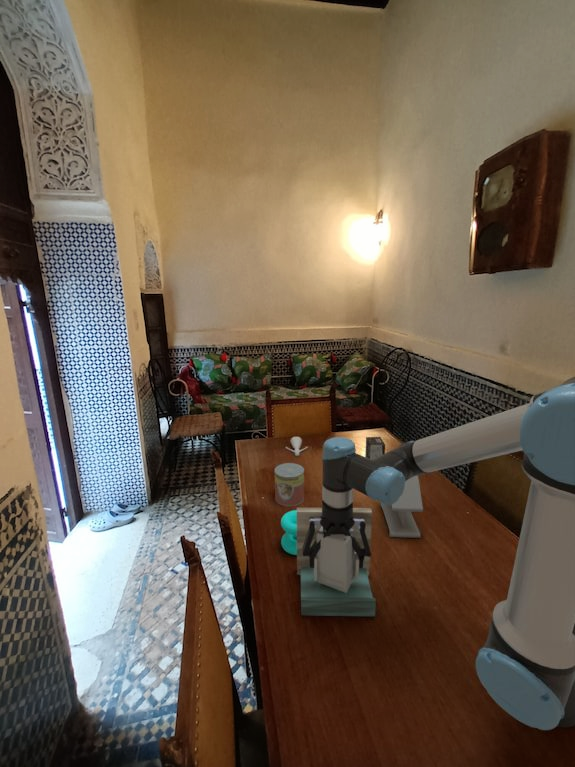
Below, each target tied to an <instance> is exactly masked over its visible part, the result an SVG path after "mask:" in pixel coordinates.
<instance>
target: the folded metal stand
mask: <svg viewBox="0 0 575 767" xmlns="http://www.w3.org/2000/svg"><path fill="white" fill-rule="evenodd" d="M419 479H420V478H419V475H418V476H414V477H412V478H410V479H408V480H407V481H405V487H404V491H403V493H402V495H401V496H400V497H399V499H398V501H397V502H396V503H394V504H391V505H387V504H384V503H382V502H380V501H379V506H380V508H382V512H383V514H384V517H385V521H386V523H387V527H388V530H389V531H388V536H389V537H390V538H409V539H410V538H411V539H413V538H414V539H415V538H416V539H420V538H421V531H420V529H419V527H418V525H417V523H416V521H415V518H414V516H413V514H412V512H414V513H418V512H419V513H422V512H423V511H424V507H423V499H422V493H421V487H420V481H419Z"/></svg>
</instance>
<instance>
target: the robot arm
mask: <svg viewBox="0 0 575 767" xmlns="http://www.w3.org/2000/svg"><path fill="white" fill-rule="evenodd" d="M356 451H357V450H356V444H355V442H354V441H353V440H351V439H350V438H347V437H341V436H336V437H331V438H328V439H327V440H325V441H324V443H323V448H322V456H321V460H322V461H321V462H322V463H321V464H322V486H321V488H322V489H321V490H322V492H321V494H322V495H321V498H322V501H321V508H322V516H321V517H320V519H314V517H310V518H309V523H310V526H309V529H308V532H307V535H306V538H305V541H304V544H303V556H309V557H310V568H314V581H317V553H318V551H319V550H320V548H321V540H320V541H319V542H318V543H317V539H316V540H315V542H314V543H313V545H312V546H311V548H310V545H311V542H312V539H313V536H314V533H315V529H317V527H318V525H319V524H321V526H322V527H323V534H324V536H323V538H325V537H327V536H330V535H331V534H344V535H345V536H351V534H350V533H349V530H350V529H351V528H352V527H353V525H354V524H355V525H356V527H357V528H358V529H359V530H360V534H361V538H362V541H363V545H364V549H361V547H360V545H359V544H358V542H357V540H356V539H355V537H352V536H351V538H352V547H353V548H354V550H355V554H354V577H355V581H358V577H359V568H363V561H364V557H365V556H367V557H370V558H371V556H372V552H371V547H370V548H369V545H368V541H367V537H366V534H365V526H366V524H365V521H364V518H363V517H360V518H359V519H354V518H353V508H354V490H355V491H357V492H359V493H361V494H362V495H365V496H367V497H368V498H370V499H371V500H374V501H377V502H379V503H380V502H382V503H384V504H387V505H391V504H394V503H396V502H397V501H398V499H399V497H400V496H401V495H402V493H403V491H404V487H405V481H407V480H408V479H410V478H412V477H414V476H418V477H419V476H421V475H425V474H428V473H432V472H438V471H440V470H446V469H449V468H453V467H457V466H463V465H466V464H469V463H475V462H478V461H483V460H487V459H492V458H495V457H500V456H504V455H508V454H512V453H517V452H520V451H523V458H522V463H521V468H522V470H523V472H524V474H526V476H527V477H528V478H529V479H530V480H531V482H530V485H529V486H530V487H529V491H528V497H527V502H526V506H525V509H524V510H525V511H524V516H523V520H522V524H521V531H520V534H519V538H518V539H519V540H518V544H517V549H516V553H515V554H516V555H515V558H514V563H513V564H514V565H513V569H512V573H511V578H510V581H509V582H510V583H509V588H508V593H507V598H506V599H505V600H501V601H499V602H498V603H496V605H495V606H494V608H493V611H492V616H491V620H490V625H489V630H488V635H487V638H486V641H485V643H484V645H483V646H482V647H480V649H479V650H478V652H477V656H476V658H475V670H476V673H477V677H478V679H479V681H480V683H481V685H482V686H483V687H484V688H485V690H486V691H487V694H488V695H489V696H490V697H491V699H493V700H494V701H495V703H496V704H497V705H498V706H499V707H500V708H501V709H502V710H504V711H505V712H506V713H507V714H509V715H510V716H511V717H512V718H514V719H515V720H517V721H519V722H520V723H522V724H524V725H526V726H528V727H530V728H534V729H535V728H537V729H539V730H541V731H550V730H553V729H555V728H556V727H557V728H572V727H574V726H575V376H572V377H571V378H568V379H566V380H565V381H564V382H563V383H561V384H559V385H556V386H555V387H552V388H551V389H548V390H545V391H542V392H540V393H538V394H537V393H536V394H535V395H533V396H531V398H530V401H529V403H525V404H523V405H520V406H517V407H514V408H511V409H507V410H505V411H502V412H498V413H495V414H493V415H489V416H487V417H484V418H480V419H477V420H474V421H472V422H471V421H470V422H468V423H465V424H463V425H460V426H457V427H454V428H450V429H447V430H444V431H442V432H441V431H440V432H438V433H435V434H433V435H430V436H426V437H422V438H420V439H417V440H410V441H406V442H404V443H402V444H399V446H396V448H393V449H391V450H390V451H387V452H385V454H383V455H381V456H379V457H377V458H375V459H369V458H366V457H365V455H364V456H363V455H361V454H358V453H357V452H356ZM325 530H326V532H325Z"/></svg>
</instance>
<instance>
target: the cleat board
mask: <svg viewBox="0 0 575 767" xmlns="http://www.w3.org/2000/svg"><path fill="white" fill-rule="evenodd" d="M296 510H297V555H296V575H297V576H298V575H299V576H300V616H318V617H320V616H325V617H326V616H329V617H333V616H334V617H338V616H339V617H376V605H377V604H376V603H377V599H376V597H373V593H372V589H371V588H372V587H371V585H370V580H369V576H370V562H371V561H370V560H371V556H370V557H367V556H365V557H364V561H363V568H359V577H358V581H355V577H354V580H353V582H352V584H351V585H350V587H349V589H348V592H347V593H345V592H342V591H340V590H337V589H335V588H332V587H329V586H327V585H324V584H322V583H319V582H318V566H317V581H314V568H310V557H309V556H303V544H304V541H305V538H306V535H307V532H308V529H309V526H310V523H309V518H310V517H314V519H320V517H321V516H322V507H296ZM360 517H363V518H364V521H365V524H366V526H365V534H366V537H367V541H368V545H369V548H370V549H371V543H372V542H371V541H372V540H371V539H372V521H373V519H372V518H373V512H372V508H371V507H353V518H354V519H359V518H360ZM321 527H322V526H321V524H319V525H318V527H317V529H315V533H314V536H313V539H312V542H311V545H310V548H311V546H312V545H313V543H314V542H315V540H316V534H317V533H318V531H319V530H320V528H321ZM351 529H353V530H354V537H355V539H356V540H357V542H358V544H359V545H360V547H361V549H364V545H363V541H362V538H361V534H360V530H359V529H358V528H357V527H356V525H355V524H354V525H353V527H352V528H351ZM354 554H355V550H354Z"/></svg>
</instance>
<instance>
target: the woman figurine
mask: <svg viewBox="0 0 575 767" xmlns="http://www.w3.org/2000/svg"><path fill="white" fill-rule="evenodd" d="M289 442H290V444H291V447H292V448H293V449H294V450H293V449H291V448H289V447H288V446H285V449H287V450H289V451H291V452H293V454H294V457H300V456H301V455H300V453H301V452H302V451H304V450H306V449H308V448H309V446H306V447H305V448H302V449H301V447H302V444H303V443H302V442H303V439H302V438H301V437H300V436H293V437H291V439H290V441H289Z"/></svg>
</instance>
